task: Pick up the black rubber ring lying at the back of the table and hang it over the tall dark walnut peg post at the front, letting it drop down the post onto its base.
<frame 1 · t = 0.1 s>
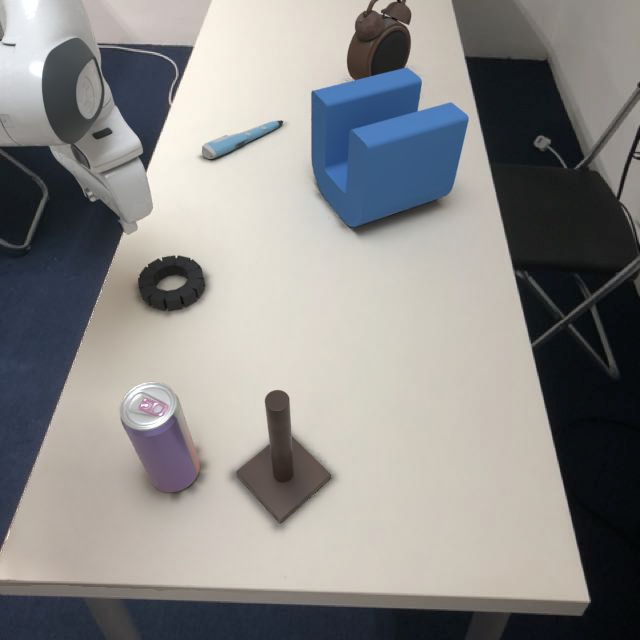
hand: (111, 213, 78), 13 cm above the table, tool pointing down, fingers open, 8 cm apart
ring: (173, 287, 88), on the table
alarm clock: (377, 90, 128), on the table
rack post: (283, 476, 68), on the table
pen: (243, 142, 114), on the table
beverage can: (175, 471, 68), on the table
block: (377, 196, 103), on the table
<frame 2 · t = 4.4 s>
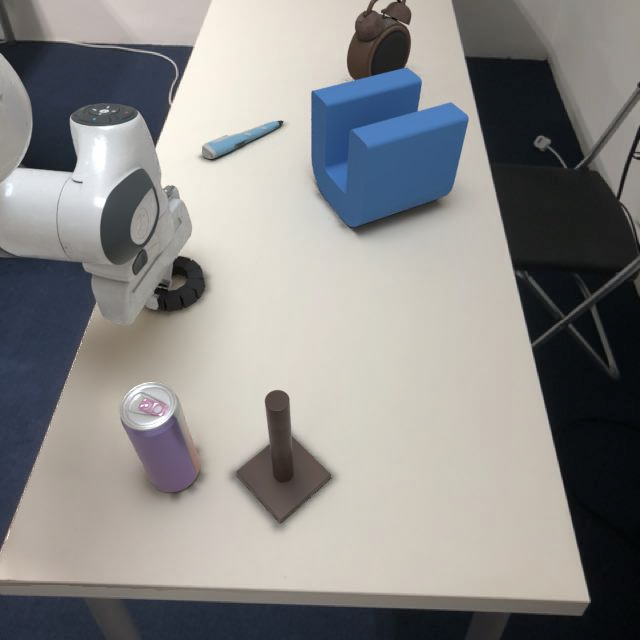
hand: (159, 296, 84), 2 cm above the table, tool pointing down, fingers closed on ring, 2 cm apart
ring: (173, 287, 87), on the table, touching gripper
everything else where it was.
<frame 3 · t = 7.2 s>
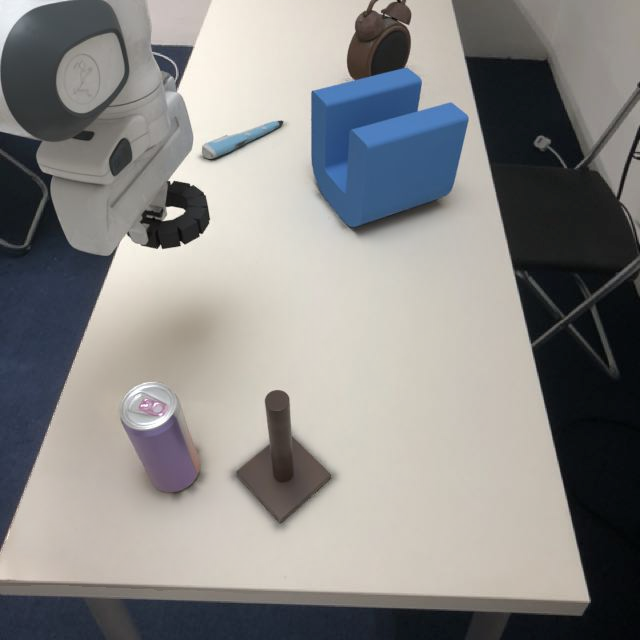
hand: (150, 229, 62), 22 cm above the table, tool pointing down, fingers closed on ring, 2 cm apart
ring: (167, 221, 66), point 21 cm above the table, touching gripper
everything else where it was.
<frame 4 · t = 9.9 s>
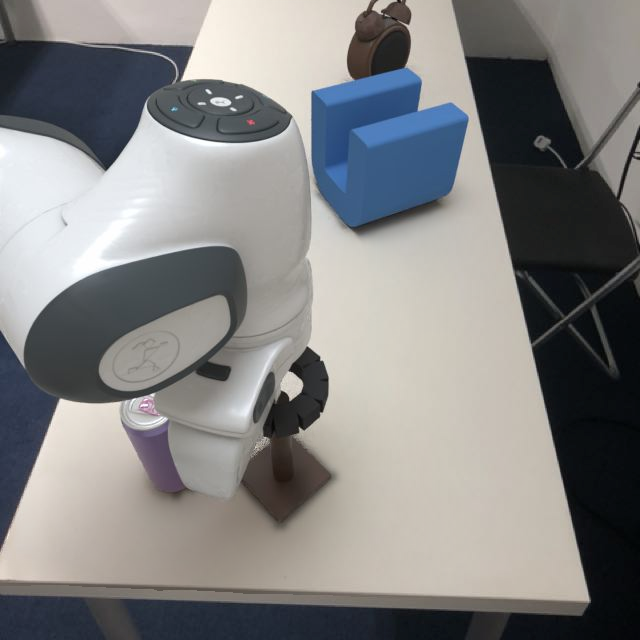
hand: (262, 415, 50), 20 cm above the table, tool pointing down, fingers closed on ring, 2 cm apart
ring: (276, 392, 54), point 18 cm above the table, touching gripper
everything else where it was.
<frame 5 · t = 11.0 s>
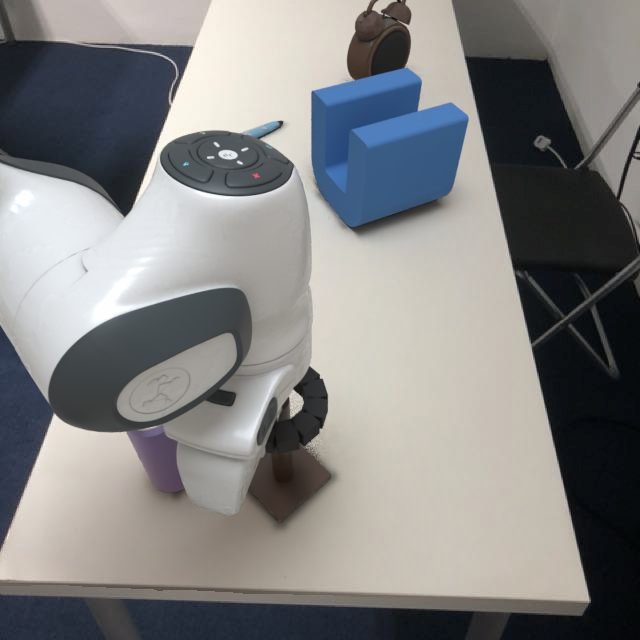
hand: (264, 432, 52), 17 cm above the table, tool pointing down, fingers closed on ring, 2 cm apart
ring: (278, 409, 56), point 15 cm above the table, touching gripper
everything else where it was.
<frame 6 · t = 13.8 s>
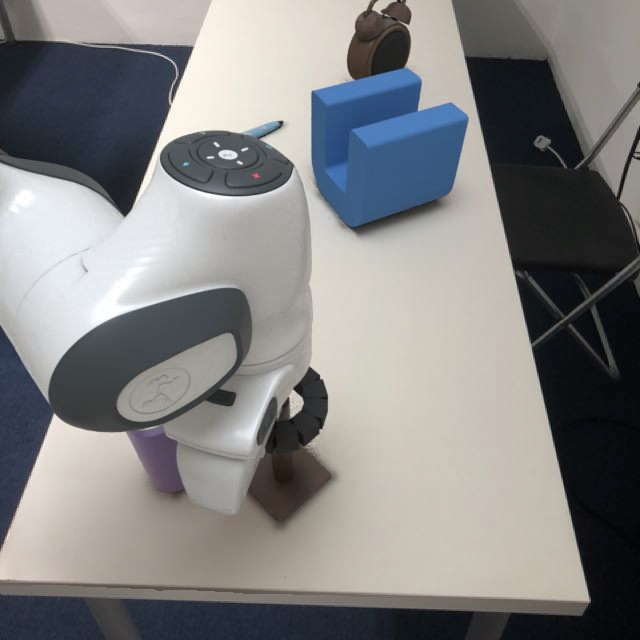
hand: (264, 432, 52), 17 cm above the table, tool pointing down, fingers closed on ring, 2 cm apart
ring: (278, 409, 56), point 15 cm above the table, touching gripper
everything else where it was.
when the fingers open (18 cm above the table, at t = 15.8 s): ring drops 16 cm, resting on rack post.
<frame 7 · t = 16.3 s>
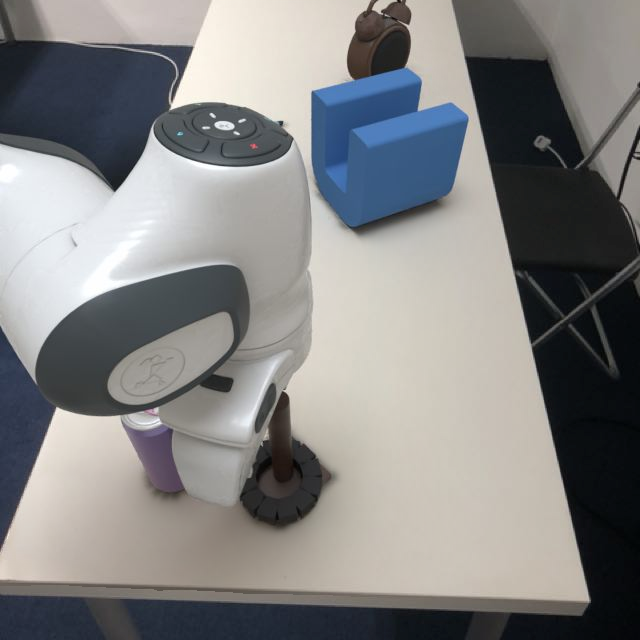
hand: (263, 423, 51), 19 cm above the table, tool pointing down, fingers open, 8 cm apart
ring: (280, 483, 66), point 1 cm above the table, touching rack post
everything else where it was.
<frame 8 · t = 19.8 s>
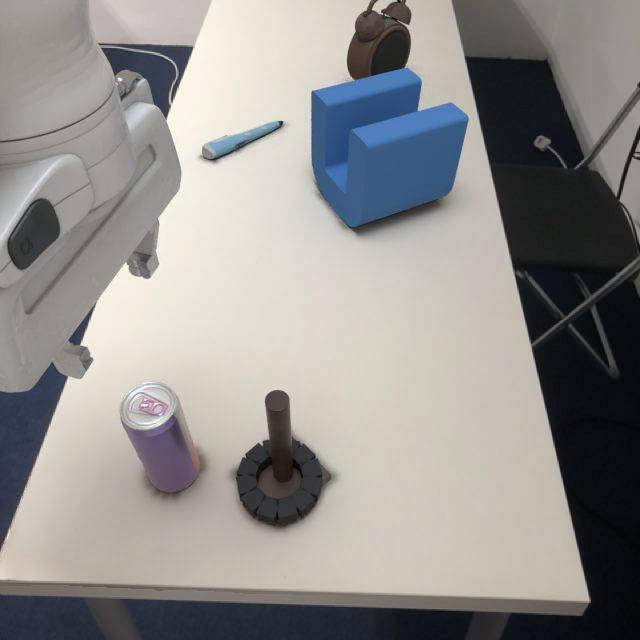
hand: (114, 316, 40), 33 cm above the table, tool pointing down, fingers open, 8 cm apart
nothing on the table moved.
at the end: ring 1.4 cm off-centre on the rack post, point 1.0 cm above the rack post's base; the gripper is holding nothing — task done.
